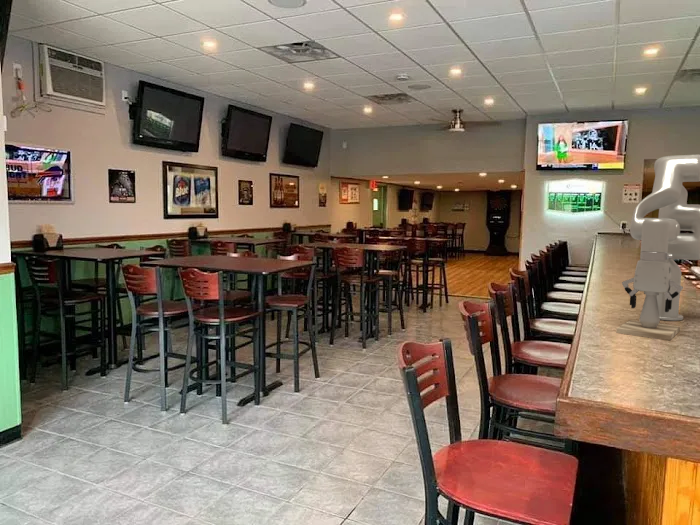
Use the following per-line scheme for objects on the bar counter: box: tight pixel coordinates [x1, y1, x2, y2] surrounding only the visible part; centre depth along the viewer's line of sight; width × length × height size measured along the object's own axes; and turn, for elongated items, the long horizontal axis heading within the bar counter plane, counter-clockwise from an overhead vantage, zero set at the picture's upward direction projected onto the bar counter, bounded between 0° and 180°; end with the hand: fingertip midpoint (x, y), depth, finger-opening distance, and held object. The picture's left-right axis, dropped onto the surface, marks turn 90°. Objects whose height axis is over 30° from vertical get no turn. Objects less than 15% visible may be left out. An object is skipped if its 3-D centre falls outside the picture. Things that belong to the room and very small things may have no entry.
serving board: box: [616, 319, 681, 341], centre depth 172 cm, size 18×15×2 cm
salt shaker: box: [638, 292, 661, 328], centre depth 171 cm, size 6×6×13 cm
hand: (649, 309), depth 171 cm, fingers open, 9 cm apart
